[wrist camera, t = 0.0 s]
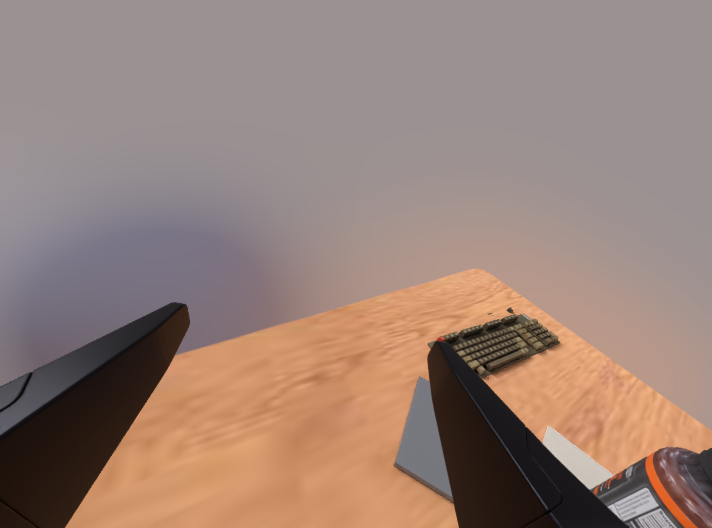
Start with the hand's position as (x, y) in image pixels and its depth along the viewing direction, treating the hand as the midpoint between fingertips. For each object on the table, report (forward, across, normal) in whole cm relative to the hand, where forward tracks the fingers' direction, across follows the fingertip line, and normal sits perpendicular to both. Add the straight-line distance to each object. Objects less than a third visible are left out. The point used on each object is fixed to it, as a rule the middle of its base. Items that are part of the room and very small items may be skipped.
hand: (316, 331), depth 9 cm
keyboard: (+19, -25, +17) cm, 36 cm away
